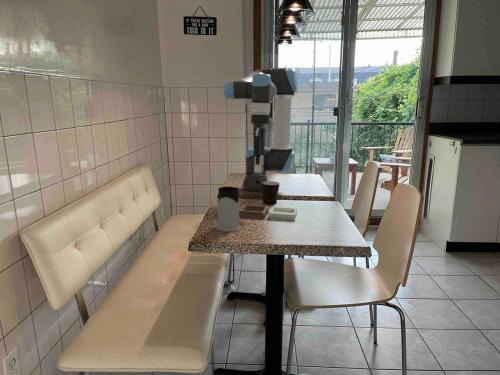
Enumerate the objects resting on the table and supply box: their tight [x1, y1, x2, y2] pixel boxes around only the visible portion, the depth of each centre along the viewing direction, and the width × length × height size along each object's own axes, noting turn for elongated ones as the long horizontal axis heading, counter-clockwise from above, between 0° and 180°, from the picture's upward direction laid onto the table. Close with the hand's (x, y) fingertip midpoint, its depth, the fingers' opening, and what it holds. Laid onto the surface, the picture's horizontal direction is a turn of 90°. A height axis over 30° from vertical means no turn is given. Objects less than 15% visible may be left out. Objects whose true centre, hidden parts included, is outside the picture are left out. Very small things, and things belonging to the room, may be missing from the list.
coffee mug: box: [261, 180, 280, 206], centre depth 180 cm, size 12×9×10 cm
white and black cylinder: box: [216, 186, 240, 232], centre depth 143 cm, size 9×14×15 cm, turn 172°
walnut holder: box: [239, 204, 270, 219], centre depth 161 cm, size 11×11×2 cm
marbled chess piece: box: [252, 158, 267, 185], centre depth 157 cm, size 6×6×12 cm
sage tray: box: [268, 206, 298, 222], centre depth 158 cm, size 11×11×2 cm
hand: (258, 171), depth 157 cm, fingers closed on marbled chess piece, 4 cm apart
